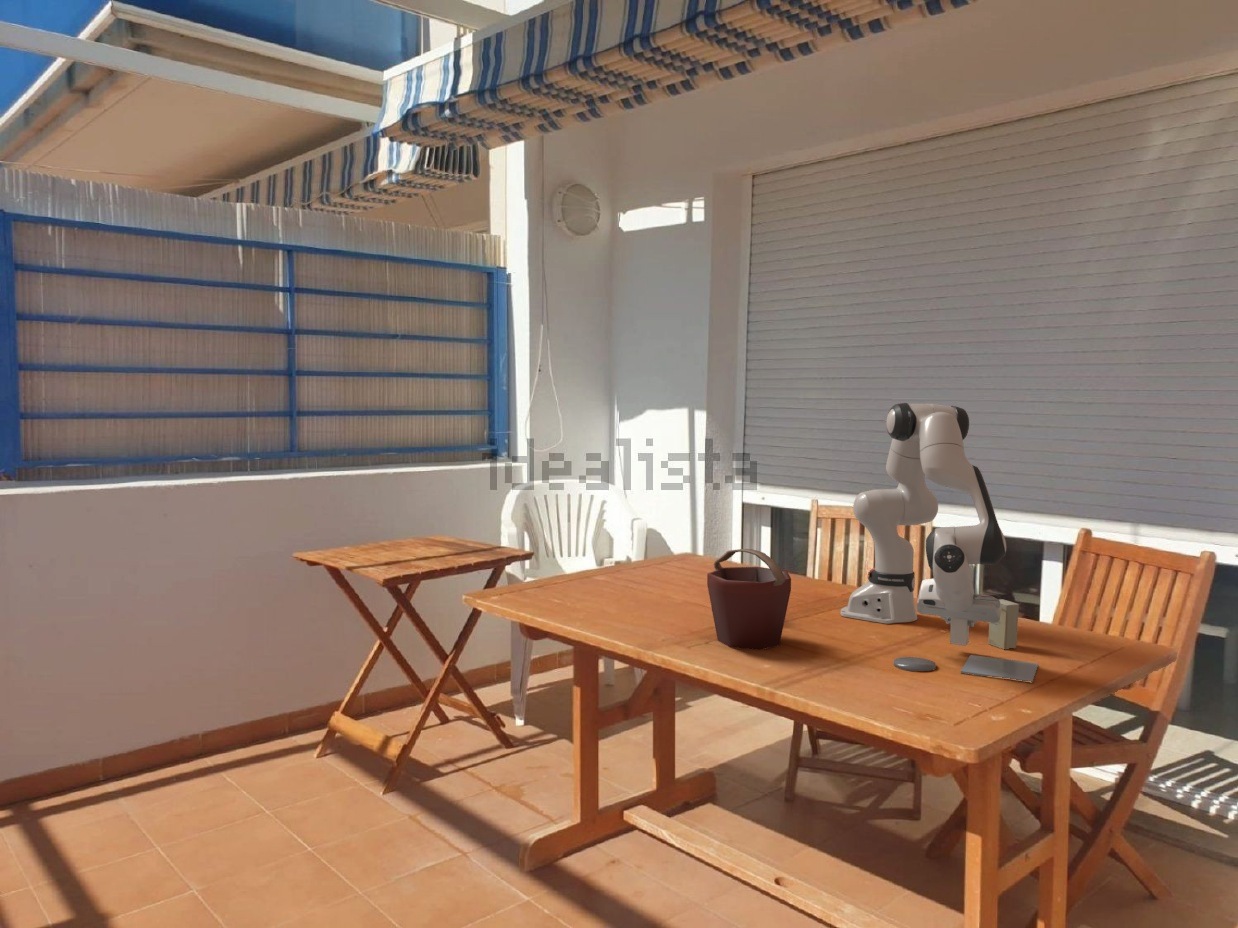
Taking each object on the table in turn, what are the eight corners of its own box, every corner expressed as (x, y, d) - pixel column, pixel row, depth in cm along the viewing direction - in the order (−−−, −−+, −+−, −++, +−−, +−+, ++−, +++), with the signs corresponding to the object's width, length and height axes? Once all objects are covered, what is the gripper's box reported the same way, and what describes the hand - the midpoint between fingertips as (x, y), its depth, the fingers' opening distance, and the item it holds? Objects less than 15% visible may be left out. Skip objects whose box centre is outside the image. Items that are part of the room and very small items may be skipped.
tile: (960, 673, 227) (960, 670, 227) (970, 656, 241) (970, 654, 241) (1032, 683, 219) (1032, 680, 219) (1038, 665, 233) (1038, 663, 233)
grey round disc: (889, 667, 231) (889, 664, 231) (898, 657, 240) (898, 654, 240) (931, 674, 226) (931, 670, 226) (939, 663, 235) (939, 660, 235)
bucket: (695, 633, 263) (695, 545, 261) (764, 626, 271) (765, 541, 269) (735, 656, 240) (737, 560, 238) (810, 648, 248) (811, 555, 246)
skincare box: (987, 644, 253) (989, 599, 252) (1000, 642, 255) (1002, 598, 254) (1004, 650, 247) (1006, 604, 246) (1017, 648, 249) (1019, 603, 248)
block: (949, 643, 243) (951, 609, 242) (952, 640, 247) (953, 606, 246) (966, 645, 241) (967, 611, 240) (968, 642, 245) (969, 608, 244)
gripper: (1001, 587, 231) (1004, 617, 241) (916, 578, 241) (922, 607, 251) (998, 608, 228) (1001, 638, 237) (912, 599, 238) (918, 628, 247)
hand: (960, 622), depth 244 cm, fingers closed on block, 4 cm apart
